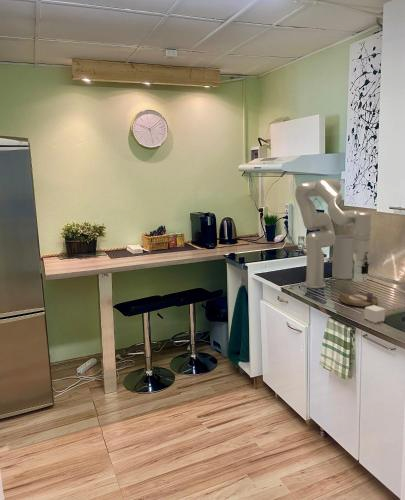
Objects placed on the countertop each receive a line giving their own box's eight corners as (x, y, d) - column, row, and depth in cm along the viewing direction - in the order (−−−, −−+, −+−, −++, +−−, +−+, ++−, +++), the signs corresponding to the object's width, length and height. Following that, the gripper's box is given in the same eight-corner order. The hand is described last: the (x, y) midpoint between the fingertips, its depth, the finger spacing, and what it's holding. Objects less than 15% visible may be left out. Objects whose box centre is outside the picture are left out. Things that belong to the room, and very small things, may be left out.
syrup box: (355, 278, 214) (356, 251, 211) (367, 280, 210) (368, 252, 207) (351, 281, 209) (352, 253, 206) (363, 283, 206) (365, 254, 203)
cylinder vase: (327, 276, 260) (329, 236, 255) (343, 273, 265) (345, 234, 260) (342, 280, 249) (344, 240, 244) (357, 278, 254) (360, 237, 249)
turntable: (357, 292, 224) (357, 282, 223) (385, 302, 208) (386, 291, 207) (332, 298, 216) (332, 288, 215) (359, 308, 200) (360, 297, 199)
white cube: (372, 317, 192) (373, 305, 191) (384, 321, 187) (385, 308, 186) (364, 319, 189) (364, 307, 188) (375, 324, 184) (376, 311, 183)
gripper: (345, 234, 213) (344, 268, 217) (364, 240, 196) (362, 276, 200) (359, 233, 214) (357, 267, 218) (379, 239, 197) (376, 275, 201)
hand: (360, 271), depth 209 cm, fingers closed on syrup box, 7 cm apart
